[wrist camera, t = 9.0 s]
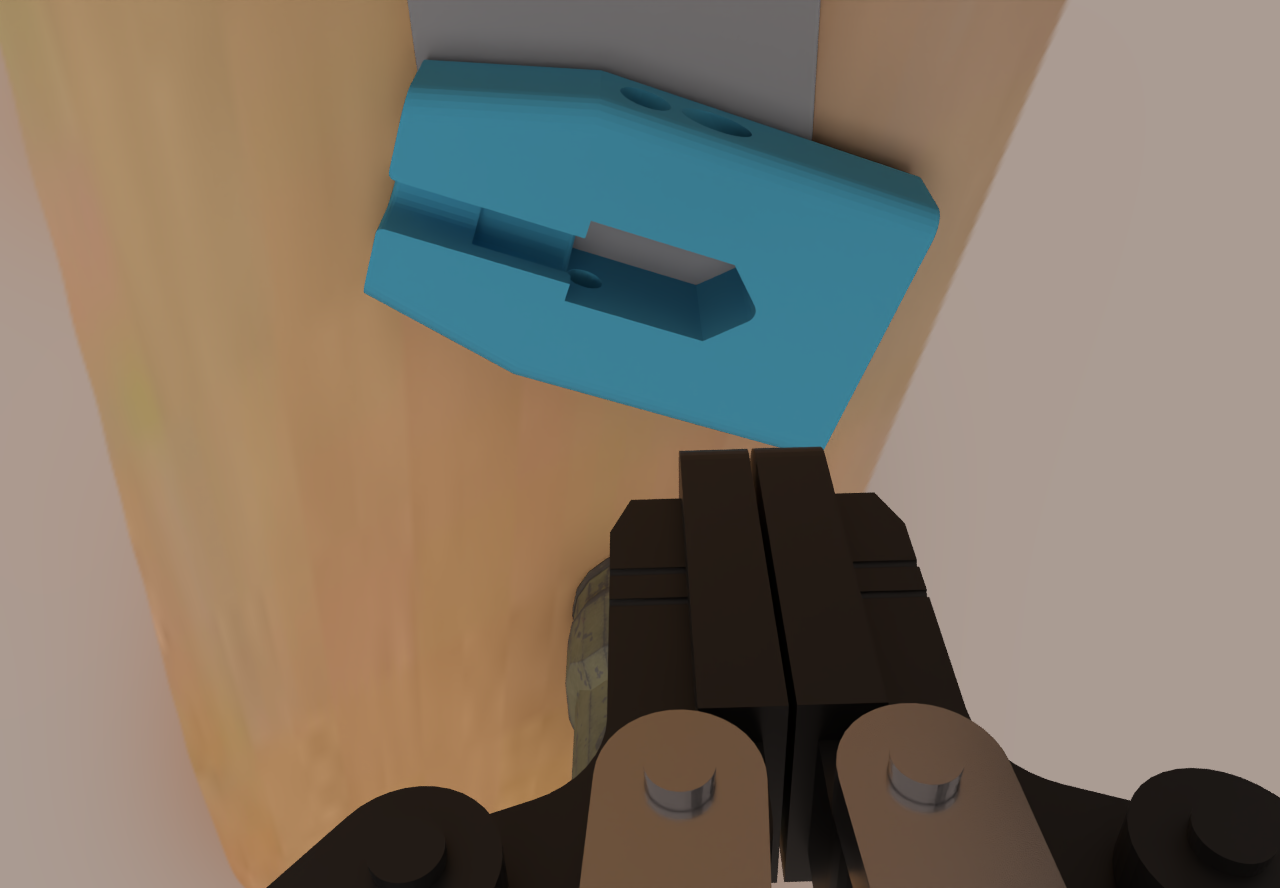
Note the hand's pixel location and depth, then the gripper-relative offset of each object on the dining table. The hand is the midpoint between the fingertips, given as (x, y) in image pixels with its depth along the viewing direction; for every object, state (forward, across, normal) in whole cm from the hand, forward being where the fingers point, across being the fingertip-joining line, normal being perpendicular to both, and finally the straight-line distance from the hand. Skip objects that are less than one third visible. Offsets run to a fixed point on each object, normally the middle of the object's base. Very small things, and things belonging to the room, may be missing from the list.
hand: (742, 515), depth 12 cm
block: (+32, +11, +8) cm, 35 cm away
